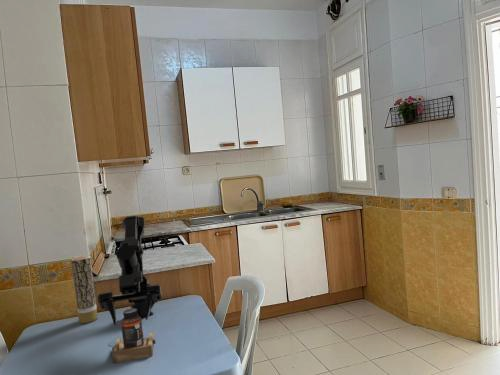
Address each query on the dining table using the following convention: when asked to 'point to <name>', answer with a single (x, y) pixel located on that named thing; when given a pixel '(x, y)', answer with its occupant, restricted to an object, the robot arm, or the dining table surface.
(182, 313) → the dining table surface
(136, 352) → the holder
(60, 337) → the dining table surface
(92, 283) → the paper tube
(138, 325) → the supplement bottle
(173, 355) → the dining table surface
